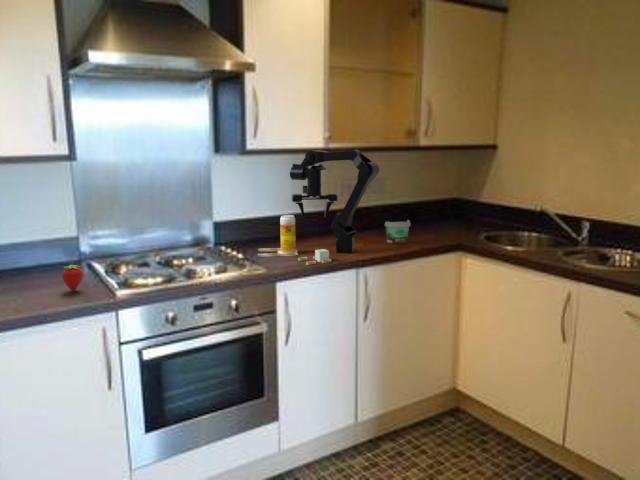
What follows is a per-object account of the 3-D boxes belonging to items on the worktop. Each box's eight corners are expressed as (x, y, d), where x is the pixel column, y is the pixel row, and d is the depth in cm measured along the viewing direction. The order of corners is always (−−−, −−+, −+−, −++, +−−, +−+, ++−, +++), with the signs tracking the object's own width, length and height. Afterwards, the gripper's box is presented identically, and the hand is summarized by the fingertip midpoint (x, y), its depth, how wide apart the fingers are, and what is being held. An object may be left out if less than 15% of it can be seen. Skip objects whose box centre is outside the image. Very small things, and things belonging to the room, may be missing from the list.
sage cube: (324, 259, 216) (324, 248, 215) (329, 261, 213) (329, 250, 212) (315, 260, 214) (315, 250, 213) (319, 262, 211) (319, 251, 210)
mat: (296, 250, 231) (296, 250, 231) (297, 254, 223) (297, 254, 223) (277, 251, 230) (277, 250, 230) (277, 255, 222) (277, 254, 222)
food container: (391, 246, 238) (391, 223, 236) (384, 243, 244) (384, 221, 242) (415, 243, 243) (416, 221, 241) (407, 241, 249) (408, 219, 247)
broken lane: (321, 257, 218) (321, 255, 218) (331, 261, 210) (331, 259, 210) (298, 260, 214) (298, 257, 213) (307, 264, 206) (307, 262, 206)
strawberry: (84, 287, 178) (81, 257, 176) (84, 293, 172) (81, 261, 170) (64, 289, 176) (61, 258, 174) (63, 295, 169) (60, 263, 167)
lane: (294, 250, 232) (294, 247, 232) (295, 255, 221) (295, 253, 221) (258, 251, 231) (258, 248, 231) (257, 256, 220) (257, 254, 220)
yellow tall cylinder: (282, 254, 223) (281, 217, 220) (279, 251, 229) (279, 215, 226) (297, 253, 224) (296, 216, 221) (294, 250, 230) (293, 214, 227)
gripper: (333, 178, 239) (333, 214, 242) (290, 179, 237) (291, 215, 240) (337, 181, 228) (337, 218, 231) (292, 181, 226) (292, 219, 229)
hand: (314, 217), depth 233 cm, fingers open, 9 cm apart
